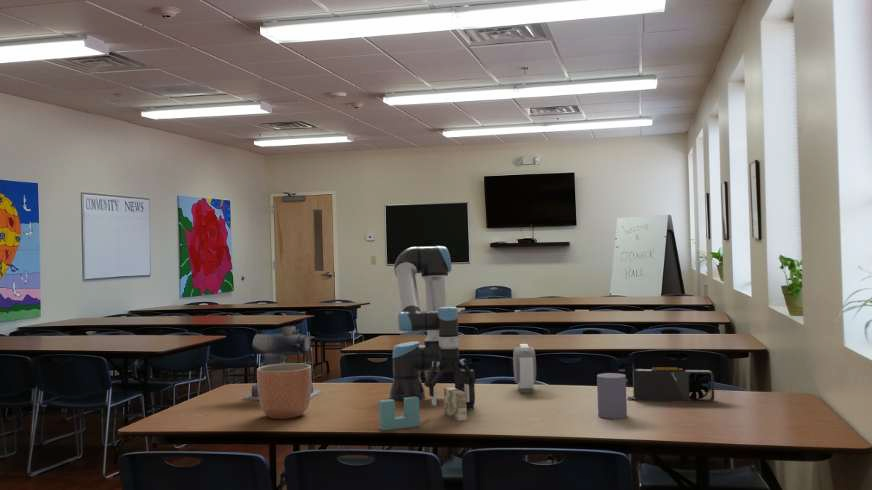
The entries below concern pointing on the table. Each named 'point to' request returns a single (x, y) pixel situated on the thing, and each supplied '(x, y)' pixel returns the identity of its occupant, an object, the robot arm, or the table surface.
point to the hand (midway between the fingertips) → (450, 403)
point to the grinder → (279, 351)
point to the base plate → (392, 422)
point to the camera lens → (460, 386)
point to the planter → (284, 389)
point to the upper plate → (455, 403)
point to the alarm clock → (524, 367)
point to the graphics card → (671, 384)
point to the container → (612, 395)
